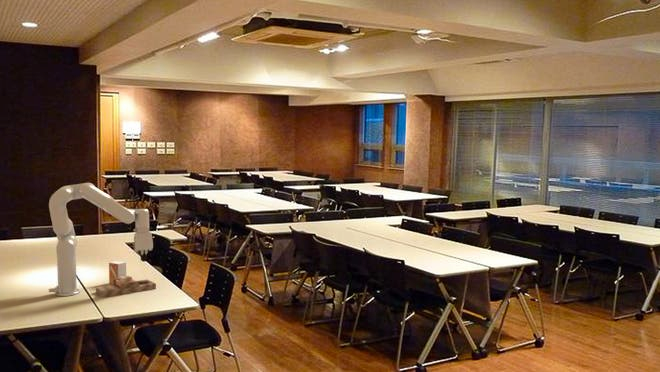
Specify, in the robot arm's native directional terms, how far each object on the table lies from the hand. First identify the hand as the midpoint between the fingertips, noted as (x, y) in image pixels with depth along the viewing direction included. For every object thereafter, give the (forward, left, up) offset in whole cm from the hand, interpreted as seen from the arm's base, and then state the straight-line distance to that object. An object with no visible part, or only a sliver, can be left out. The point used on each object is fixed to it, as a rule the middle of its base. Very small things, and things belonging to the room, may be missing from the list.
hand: (143, 261), depth 331 cm
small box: (-8, +19, -16) cm, 26 cm away
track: (-10, 0, -16) cm, 19 cm away
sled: (-10, 0, -13) cm, 17 cm away
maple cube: (-10, 0, -13) cm, 17 cm away
